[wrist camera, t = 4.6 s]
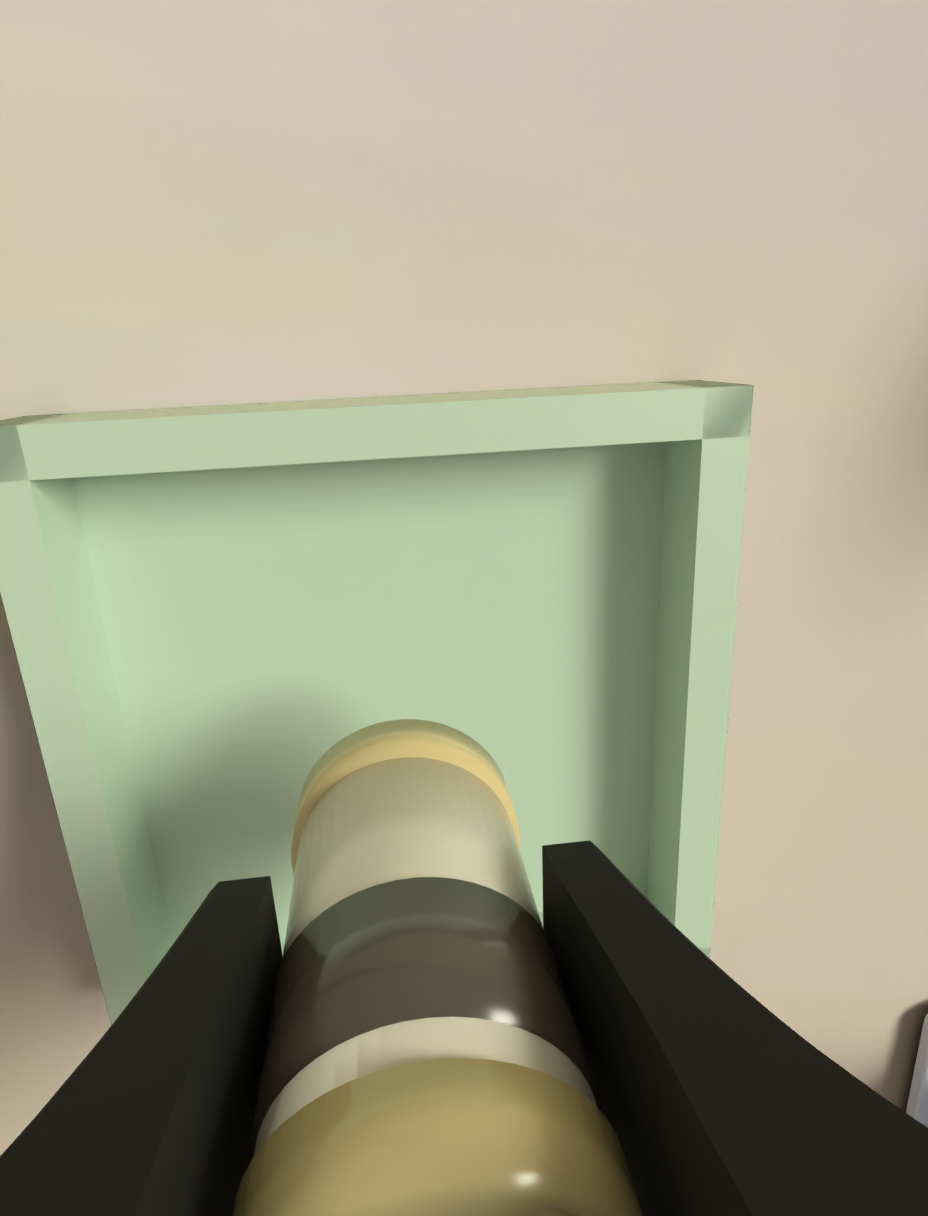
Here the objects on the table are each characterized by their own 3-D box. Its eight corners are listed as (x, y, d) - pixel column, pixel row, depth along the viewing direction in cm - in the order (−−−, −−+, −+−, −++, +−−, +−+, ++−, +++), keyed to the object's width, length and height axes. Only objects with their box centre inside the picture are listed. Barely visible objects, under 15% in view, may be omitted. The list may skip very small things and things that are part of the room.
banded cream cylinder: (511, 713, 12) (688, 1159, 5) (506, 894, 13) (649, 1453, 6) (290, 724, 12) (181, 1222, 5) (304, 909, 13) (232, 1522, 6)
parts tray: (698, 379, 14) (753, 384, 12) (670, 905, 18) (708, 977, 16) (23, 416, 13) (-42, 428, 11) (149, 967, 17) (118, 1054, 15)
